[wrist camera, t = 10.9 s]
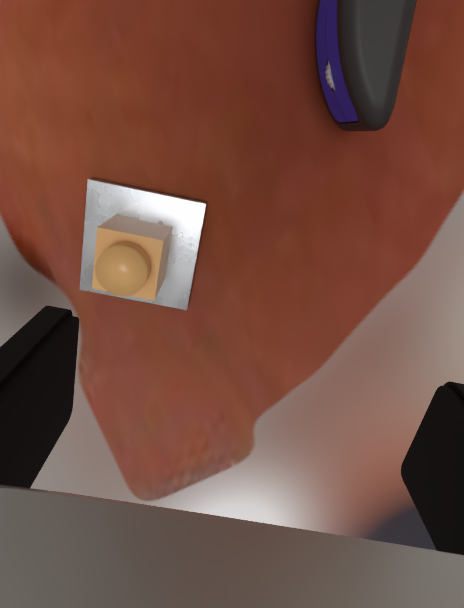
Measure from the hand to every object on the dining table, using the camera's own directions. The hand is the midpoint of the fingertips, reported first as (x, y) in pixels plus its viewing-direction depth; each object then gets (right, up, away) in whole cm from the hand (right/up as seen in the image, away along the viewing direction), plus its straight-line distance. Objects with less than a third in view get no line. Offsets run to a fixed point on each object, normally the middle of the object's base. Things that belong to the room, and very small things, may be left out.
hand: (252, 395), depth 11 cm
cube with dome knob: (-9, +7, +26) cm, 29 cm away
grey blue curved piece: (+9, +24, +21) cm, 33 cm away
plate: (-9, +8, +28) cm, 30 cm away
